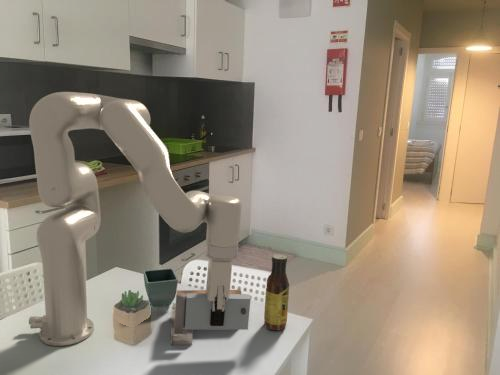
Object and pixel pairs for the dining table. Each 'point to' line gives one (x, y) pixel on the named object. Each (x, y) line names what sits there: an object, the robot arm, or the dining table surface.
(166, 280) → the flower pot
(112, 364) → the dining table surface
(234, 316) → the door
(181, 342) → the hinge clips
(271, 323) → the sauce bottle
